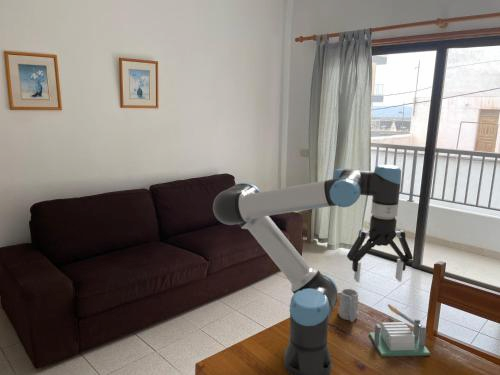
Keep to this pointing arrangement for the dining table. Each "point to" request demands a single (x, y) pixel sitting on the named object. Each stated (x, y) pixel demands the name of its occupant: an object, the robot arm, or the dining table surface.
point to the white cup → (349, 304)
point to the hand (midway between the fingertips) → (377, 280)
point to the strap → (404, 316)
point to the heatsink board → (399, 339)
